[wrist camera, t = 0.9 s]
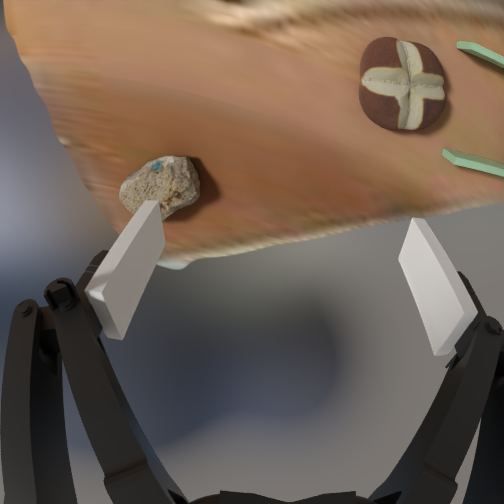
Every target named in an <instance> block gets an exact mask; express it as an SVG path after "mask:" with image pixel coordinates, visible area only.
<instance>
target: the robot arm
mask: <svg viewBox="0 0 504 504" xmlns="http://www.w3.org/2000/svg"><path fill="white" fill-rule="evenodd" d="M165 245H166V243H165V238H164V232H163V226H162V220H161V213H160V207H159V201H150V200H145V201H144V202H143V204H142V205H141V207H140V208H139V209H138V211H137V212H136V213H135V215H134V216H133V218H132V219H131V220H130V222H129V223H128V225H127V226H126V227H125V229H124V230H123V232H122V233H121V235H120V236H119V237H118V239H117V241H116V242H115V243H114V245H113V246H112V248H111V249H110V251H106V250H103V251H101V252H100V253H99V254H98V255H96V256H95V257H94V258H93V260H92V261H91V263H90V264H89V266H88V267H87V269H86V271H85V273H83V275H82V276H81V278H80V279H79V281H78V283H77V284H76V286H74V284H73V282H72V281H71V280H70V279H68V278H59V279H56V280H54V281H53V282H51V283H50V284H49V285H48V286H47V287H46V289H45V291H44V297H45V299H46V301H47V303H48V304H49V306H46V307H39V306H38V304H37V302H36V301H35V300H33V299H27V300H24V301H22V302H21V303H19V304H18V306H17V307H16V308H15V310H14V312H13V316H12V321H11V326H10V331H9V337H8V343H7V350H6V357H5V364H4V373H3V384H2V396H1V426H0V427H1V429H0V435H1V461H2V473H3V483H4V492H5V498H4V504H77V498H76V493H75V489H74V484H73V479H72V473H71V467H70V461H69V454H68V447H67V439H66V429H65V419H64V405H63V385H62V358H63V362H64V366H65V369H66V373H67V377H68V380H69V384H70V387H71V390H72V393H73V396H74V399H75V402H76V405H77V408H78V411H79V414H80V417H81V419H82V422H83V425H84V427H85V430H86V432H87V435H88V437H89V440H90V442H91V445H92V447H93V449H94V452H95V454H96V456H97V459H98V461H99V463H100V465H101V467H102V469H103V472H104V475H105V478H104V485H105V488H106V490H107V492H108V494H109V496H110V498H111V500H112V502H113V504H450V503H451V501H452V499H453V497H454V495H455V493H456V490H457V487H458V484H457V483H456V482H455V477H456V475H457V473H458V471H459V469H460V467H461V465H462V462H463V460H464V458H465V456H466V454H467V451H468V449H469V447H470V444H471V442H472V439H473V437H474V435H475V432H476V429H477V427H478V424H479V421H480V418H481V424H480V430H479V437H478V442H477V448H476V453H475V458H474V462H473V467H472V471H471V475H470V480H469V483H468V487H467V490H466V494H465V497H464V500H463V504H504V330H503V329H502V326H501V325H500V323H499V322H498V321H497V320H496V319H495V318H493V317H490V316H487V315H486V313H485V311H484V309H483V307H482V305H481V303H480V301H479V299H478V298H477V296H476V295H475V292H474V291H473V289H472V287H471V285H470V283H469V281H468V279H467V278H466V277H465V276H464V275H463V274H462V273H461V272H458V271H456V269H455V268H454V266H453V264H452V263H451V261H450V259H449V257H448V256H447V254H446V253H445V251H444V249H443V248H442V246H441V244H440V243H439V241H438V240H437V238H436V236H435V235H434V233H433V232H432V230H431V229H430V227H429V226H428V224H427V223H426V221H425V220H424V219H420V218H412V220H411V223H410V226H409V229H408V232H407V235H406V238H405V241H404V244H403V247H402V250H401V252H400V255H399V258H398V260H399V262H400V264H401V267H402V269H403V271H404V274H405V276H406V279H407V281H408V283H409V286H410V288H411V291H412V294H413V296H414V298H415V301H416V304H417V306H418V309H419V312H420V315H421V317H422V320H423V323H424V326H425V329H426V332H427V335H428V337H429V340H430V343H431V347H432V350H433V353H434V355H435V356H439V355H447V354H449V353H450V351H451V350H452V349H453V347H454V346H455V349H456V352H457V353H456V355H455V356H454V357H453V358H452V359H451V360H450V362H449V363H448V364H447V365H446V368H447V367H449V369H448V371H447V373H446V375H445V378H444V380H443V382H442V384H441V387H440V389H439V391H438V393H437V395H436V397H435V399H434V401H433V403H432V405H431V407H430V409H429V411H428V413H427V415H426V417H425V418H424V420H423V422H422V424H421V426H420V428H419V429H418V431H417V433H416V434H415V436H414V438H413V440H412V442H411V443H410V445H409V446H408V448H407V450H406V451H405V453H404V454H403V456H402V457H401V459H400V460H399V462H398V464H397V465H396V467H395V468H394V469H393V471H392V472H391V474H390V475H389V477H388V478H387V479H386V481H385V482H384V483H382V485H380V486H379V487H378V488H377V489H376V490H375V491H374V492H373V493H372V495H371V496H370V497H369V498H368V499H367V498H364V497H360V496H356V491H351V492H341V493H329V494H322V495H318V496H314V497H311V498H307V499H303V500H299V501H295V502H284V501H280V500H276V499H272V498H268V497H265V496H261V495H257V494H253V493H240V492H230V491H220V494H215V495H210V496H205V497H202V498H199V499H196V500H194V501H192V502H190V503H189V501H188V500H187V498H186V497H185V496H184V494H183V493H182V492H181V490H180V488H179V487H178V486H177V484H176V483H175V482H174V481H173V480H172V478H171V477H170V476H169V474H168V473H167V471H166V470H165V468H164V466H163V465H162V463H161V462H160V460H159V458H158V457H157V455H156V453H155V452H154V450H153V448H152V446H151V445H150V443H149V441H148V439H147V437H146V436H145V434H144V432H143V430H142V428H141V426H140V424H139V423H138V421H137V419H136V417H135V415H134V413H133V411H132V409H131V407H130V405H129V403H128V401H127V399H126V397H125V395H124V392H123V390H122V388H121V386H120V384H119V382H118V379H117V377H116V375H115V372H114V370H113V368H112V365H111V363H110V360H109V358H108V356H107V353H106V351H105V348H104V345H103V343H102V341H101V338H100V337H99V335H100V333H101V331H102V329H103V330H104V332H105V334H106V336H107V337H109V338H114V339H120V340H123V338H124V335H125V333H126V330H127V328H128V326H129V323H130V321H131V319H132V316H133V314H134V312H135V309H136V307H137V305H138V303H139V300H140V298H141V296H142V294H143V291H144V289H145V287H146V285H147V283H148V280H149V278H150V276H151V274H152V272H153V270H154V267H155V265H156V263H157V261H158V259H159V257H160V255H161V253H162V251H163V249H164V247H165Z"/></svg>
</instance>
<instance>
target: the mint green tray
mask: <svg viewBox="0 0 504 504" xmlns="http://www.w3.org/2000/svg"><path fill="white" fill-rule="evenodd" d="M457 48H458V49H460V50H463V51H465V52H468V53H470V54H473V55H475V56H477V57H480V58H482V59H484V60H486V61H489V62H491V63H493V64H495V65H497V66H499V67H501V68H503V69H504V57H503V56H501V55H499V54H497V53H495V52H493V51H491V50H488V49H486V48H484V47H482V46H480V45H478V44H475V43H473V42H464V41H457ZM442 155H443V156H444V157H445V158H447V159H448V160H449V161H450V162H452V163H453V164H454V165H459V166H463V167H468V168H472V169H476V170H480V171H484V172H488V173H492V174H496V175H499V176H503V177H504V164H502V163H499V162H496V161H492V160H489V159H485V158H482V157H478V156H474V155H471V154H467V153H463V152H459V151H454V150H450V149H446V148H443V152H442Z"/></svg>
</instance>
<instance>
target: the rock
mask: <svg viewBox="0 0 504 504" xmlns="http://www.w3.org/2000/svg"><path fill="white" fill-rule="evenodd" d="M199 187H200V181H199V180H198V174H197V171H196V170H195V168H194V165H193V164H192V163H191V161H190V159H189V158H188V157H178V156H164V157H161V158H159V159H155V160H151V161H148V162H147V163H146V165H144V166H143V167H142V168H141V169H139V170H138V171H136V172H134V173H132V174H131V175H130V176H128V177H127V179H126V180H125V181H124V182H123V184H122V185H121V188H120V194H119V200H120V202H121V203H123V204H124V205H125V207H126V209H128V210H129V211H130V213H132V214H133V215H135V213H136V212H137V211H138V209H139V208H140V207H141V205H142V204H143V202H144V201H145V200H150V201H159V207H160V213H161V220H162V223H163V222H164V221H165V219H166V218H167V217H168V216H170V215H171V214H172V213H174V212H175V211H176V210H178V209H182V208H183V207H185V206H189V205H192V204H193V203H194V202H195V201H197V200H198V199H199V196H200V189H199Z"/></svg>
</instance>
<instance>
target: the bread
mask: <svg viewBox="0 0 504 504" xmlns="http://www.w3.org/2000/svg"><path fill="white" fill-rule="evenodd" d="M443 83H444V75H443V70H442V66H441V64H440V62H439V60H438V58H437V57H436V56H435V54H434V53H433V52H432V51H431V50H430V49H429V48H428V47H426V46H424V45H422V44H419V43H415V42H408V41H399V40H397V39H396V38H392V37H382V38H378V39H376V40H374V41H373V42H371V43H370V44H369V45H368V46H367V48H366V49H365V51H364V53H363V55H362V58H361V63H360V87H359V99H360V103H361V106H362V109H363V111H364V112H365V114H366V115H367V117H368V118H369V119H370V120H372V121H373V122H374V123H375V124H377V125H379V126H381V127H383V128H386V129H391V130H399V129H401V128H403V129H407V130H419V129H424V128H426V127H429V126H431V125H432V124H433V123H434V122H435V121H436V120H437V119H438V118H439V117H440V115H441V113H442V112H443V110H444V107H445V100H446V98H445V93H444V91H443V87H442V86H443Z"/></svg>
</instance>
